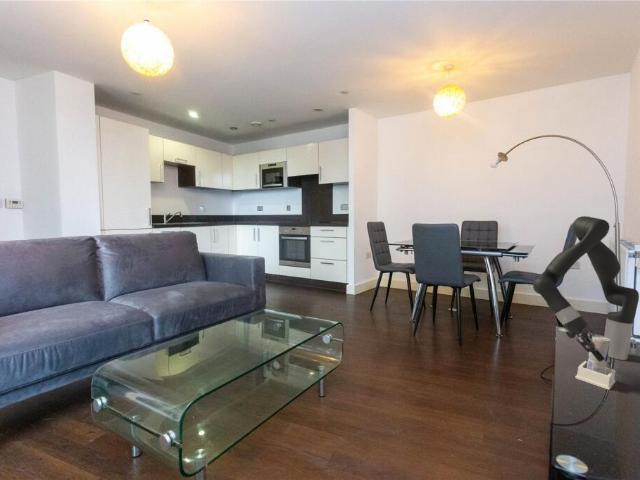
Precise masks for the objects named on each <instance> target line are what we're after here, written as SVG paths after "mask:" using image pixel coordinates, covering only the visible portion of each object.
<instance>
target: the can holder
mask: <svg viewBox="0 0 640 480" xmlns="http://www.w3.org/2000/svg"><path fill="white" fill-rule="evenodd" d="M587 363H588V360H587V361H586V360H584V361H583V362H582V363H580V364H579V366H578V367H577V374H576V375H575V377H574V378H575V379H576V380H580V381H583V382H586V383H588V384H591V385H594V386H597V387H599V388H602V389H606V390H610V389H611V388H612V387H613V386H614V384H615V383H616V379H615V375H616V370H615V369H612V368H609V367H606V369H605V374H601V373H598V372H595V371H592V370H589V369H587Z"/></svg>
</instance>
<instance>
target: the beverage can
mask: <svg viewBox="0 0 640 480" xmlns="http://www.w3.org/2000/svg"><path fill="white" fill-rule="evenodd" d="M591 339H592V341H593V342H594V346H595V347H596V348H597V350H598V351H599V352H600V354H601V355H602V356H603V357H604V358H605V359H604V360H602V361H598V360H597V359H596V357H595V356H594V355H593V354H592V352H588V356H587V362H588V363H587V369H589V370H592V371H595V372H598V373H601V374H605V369H606V368H607V364H608V362H607V361H608V351H609V345H610V340H609V339H608V338H605V337H604V336H601V335H596V334H595V335H592V338H591ZM597 350H596V351H597Z"/></svg>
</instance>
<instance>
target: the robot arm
mask: <svg viewBox="0 0 640 480" xmlns="http://www.w3.org/2000/svg"><path fill="white" fill-rule="evenodd" d="M572 229H573V233H574V235H575V236H576V238H577V239H578V242H577V243H576V244H574V245H572V246H571V247H569V248H567V249H564V250H562V251H561V252H559V253H558V254H557V255H556V256H554V258H553V259H552V260H551V261H550V263H549V264H547V266H546V267H545V269H544V271H543V272H542V273H541V275H540V276H539V277H537V278H535V280H534V281H533V283H532V288H533V291H534V292H536V294H539V295H540V296H541V297H542V298H543V299H544V301H545V302H546V304H547V307H548V308H550V311H552V313H553V314H554V316H556V318H557V319H558V321H559V322H560V323H561V325H563V327H564V328H565V329H566V330H567V332H568V333H569V334H571V335H573V334H575V335H576V336H577V338H576V341H577V342H578V343H579V344H580V345H581V346H582V347H583V348H584V350H585V351H586V352H588V353H589V352H592V354H593V355H594V356H595V357H596V359H597V360H598V361H602V360H604V359H605V358H604V357H603V356H602V355H601V354H600V352H599V351H598V350H597V348H596V347H595V346H594V342H593V341H592V339H591V338H592V335H596V334H595V332H593V331H592V330H588V329H587V328H588V327H589V323H588V322H587V321H586V319H585V318H584V317H583V316H582V315H581V314H580V313H579V312H578V311H577V309H576V308H574V307H573V305H571V304H570V302H569V301H568V300H567V299H566V298H565V296H563V295H562V293H561V292H560V290H559V289H558V286H557V283H558V282H559V281H560V280H561V279H562V278H563V277H564V276H565V275H566V274H567V272H568V271H569V270H571V268H572V267H573V265H574V264H575V263H577V261H578V260H579V259H580V258H582V257H583V256H585V254H587V257H588V258H589V261H590V263H591V266H592V268H593V270H594V271H595V274H596V276H597V278H598V280H599V283H600V285H601V289H602V291H603V292H602V293H603V296H604V298H605V300H606V301H607V303H609V304H611V305H614V306H617V307H621V310H620V311H619V310H618V311H609V312H608V313H607V314H606V315H607V316H606V322H605V327H604V328H605V329H604V336H603V337H605V338H608V339H609V340H610V345H609V351H608V357H609V358H611V359H615V360H621V361H627V360H628V359H629V354H630V353H629V351H630V346H631V339H632V332H633V327H634V326H633V325H634V319H635V318H636V314H637V308H638V305H639V301H640V293H639V291H638V290H637V289H635V288H632V287H625V286H622V285H618V284H617V283H616V281H615V278H616V277H617V276H618V275H619V273H620V272H621V264H620V261H619V260H618V257H617V256H616V254H615V253H614V251H613V250H612V249H610V247H608V245H606V244H605V243H604V242H602V240H603V239H605V237H606V236H607V235H608V234H609V231H610V223H609V222H608V221H607V220H605V219H602V218H597V217H591V216H584V215H583V216H582V215H581V216H579V217H577V218H576V219H575V220H574V222H573V225H572ZM580 260H581V259H580ZM596 350H597V351H596ZM608 357H607V358H608Z"/></svg>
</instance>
